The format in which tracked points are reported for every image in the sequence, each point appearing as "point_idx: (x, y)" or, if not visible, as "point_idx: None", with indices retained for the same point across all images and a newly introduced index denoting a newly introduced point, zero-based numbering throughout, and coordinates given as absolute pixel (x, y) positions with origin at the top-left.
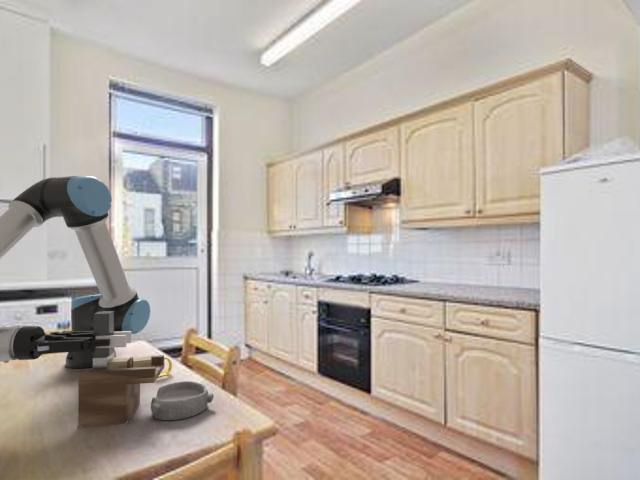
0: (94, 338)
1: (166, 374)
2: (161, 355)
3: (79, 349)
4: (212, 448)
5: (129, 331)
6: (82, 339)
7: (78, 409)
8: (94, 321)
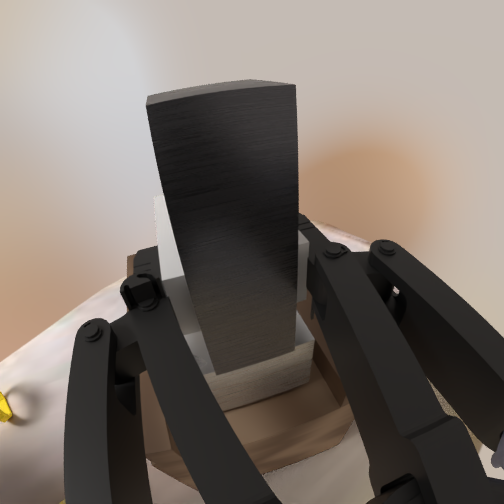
0: (293, 270)
1: (5, 399)
2: (129, 260)
3: (405, 300)
4: (326, 223)
5: (162, 196)
6: (390, 265)
7: (347, 429)
8: (293, 150)
